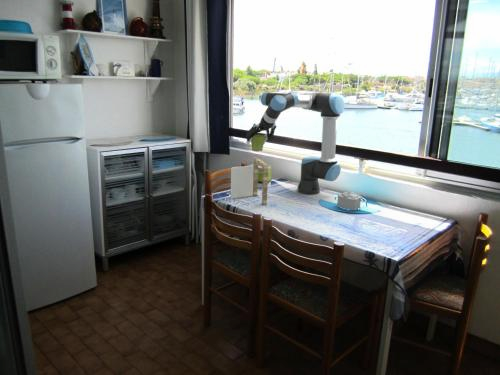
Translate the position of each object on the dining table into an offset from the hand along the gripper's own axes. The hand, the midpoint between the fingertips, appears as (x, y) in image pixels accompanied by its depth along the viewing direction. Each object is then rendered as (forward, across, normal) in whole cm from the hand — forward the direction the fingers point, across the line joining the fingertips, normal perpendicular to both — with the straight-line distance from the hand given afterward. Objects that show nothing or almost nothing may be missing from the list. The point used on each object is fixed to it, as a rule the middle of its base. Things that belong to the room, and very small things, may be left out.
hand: (254, 143), depth 238 cm
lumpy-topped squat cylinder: (+3, +48, -47) cm, 67 cm away
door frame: (+26, +6, -24) cm, 36 cm away
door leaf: (+32, -3, -17) cm, 37 cm away
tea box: (+45, +19, -4) cm, 50 cm away
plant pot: (+1, 0, -5) cm, 5 cm away
